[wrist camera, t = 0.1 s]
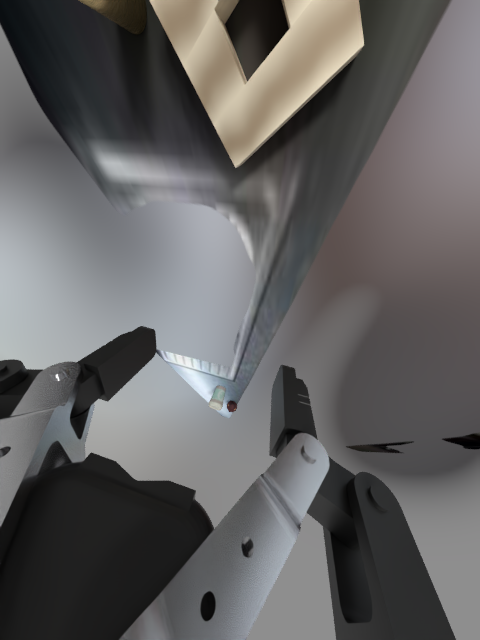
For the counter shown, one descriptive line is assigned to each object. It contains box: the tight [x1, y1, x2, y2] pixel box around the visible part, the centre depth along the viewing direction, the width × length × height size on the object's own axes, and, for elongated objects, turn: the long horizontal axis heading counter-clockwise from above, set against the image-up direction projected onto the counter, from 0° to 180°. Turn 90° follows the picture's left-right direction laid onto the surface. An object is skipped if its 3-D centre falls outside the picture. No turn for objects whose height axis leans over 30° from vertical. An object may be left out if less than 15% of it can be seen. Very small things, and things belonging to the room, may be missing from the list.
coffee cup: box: [209, 386, 226, 410], centre depth 102 cm, size 9×8×12 cm
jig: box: [150, 0, 364, 168], centre depth 18 cm, size 16×16×4 cm
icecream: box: [227, 401, 237, 412], centre depth 119 cm, size 7×7×15 cm
